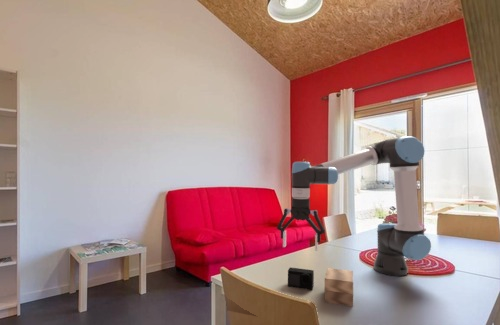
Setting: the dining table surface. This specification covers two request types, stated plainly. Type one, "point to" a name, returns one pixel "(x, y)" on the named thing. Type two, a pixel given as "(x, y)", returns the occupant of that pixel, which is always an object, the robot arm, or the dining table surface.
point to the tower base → (339, 298)
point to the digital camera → (301, 278)
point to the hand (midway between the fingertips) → (300, 248)
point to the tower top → (339, 281)
